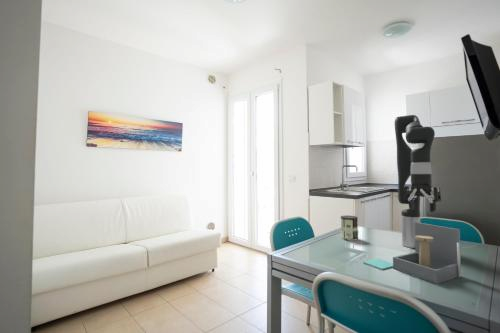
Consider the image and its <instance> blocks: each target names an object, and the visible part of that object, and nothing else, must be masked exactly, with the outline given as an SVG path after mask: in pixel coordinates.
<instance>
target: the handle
mask: <svg viewBox="0 0 500 333" xmlns="http://www.w3.org/2000/svg"><path fill="white" fill-rule="evenodd" d="M415 239H416V240H417V241H419V242H420V252H419V263H420V265H422V266H426V267H429V268H430V251H429V243H430V242H432V241H433V237H429V236H415Z"/></svg>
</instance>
